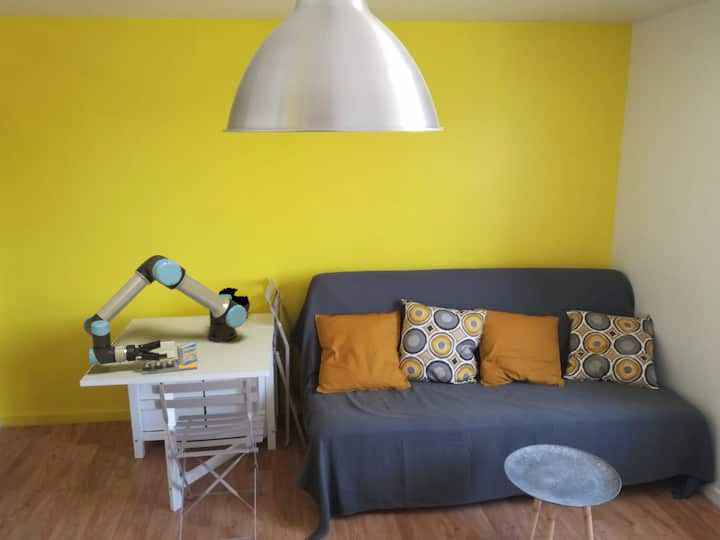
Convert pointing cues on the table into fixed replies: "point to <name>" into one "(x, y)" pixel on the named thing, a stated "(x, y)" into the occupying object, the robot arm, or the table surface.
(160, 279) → the robot arm
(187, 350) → the medicine box
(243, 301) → the bowl of black rocks
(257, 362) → the table surface
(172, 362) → the breaker panel
